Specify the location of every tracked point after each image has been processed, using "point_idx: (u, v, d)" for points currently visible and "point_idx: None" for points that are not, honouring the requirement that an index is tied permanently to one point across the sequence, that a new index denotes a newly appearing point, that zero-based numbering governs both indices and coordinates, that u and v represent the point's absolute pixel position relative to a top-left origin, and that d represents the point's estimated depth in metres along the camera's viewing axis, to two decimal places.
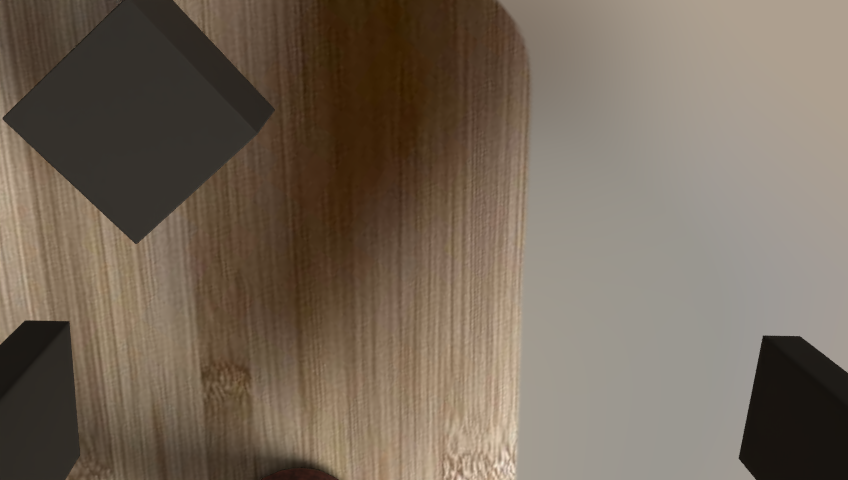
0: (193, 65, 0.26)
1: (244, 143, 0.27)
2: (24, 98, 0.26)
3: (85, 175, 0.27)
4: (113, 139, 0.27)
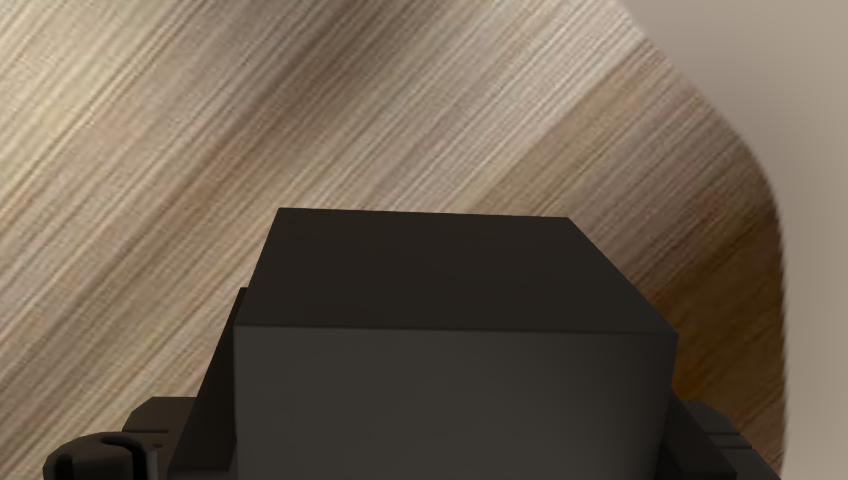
0: None
1: None
2: (316, 328, 0.10)
3: None
4: None
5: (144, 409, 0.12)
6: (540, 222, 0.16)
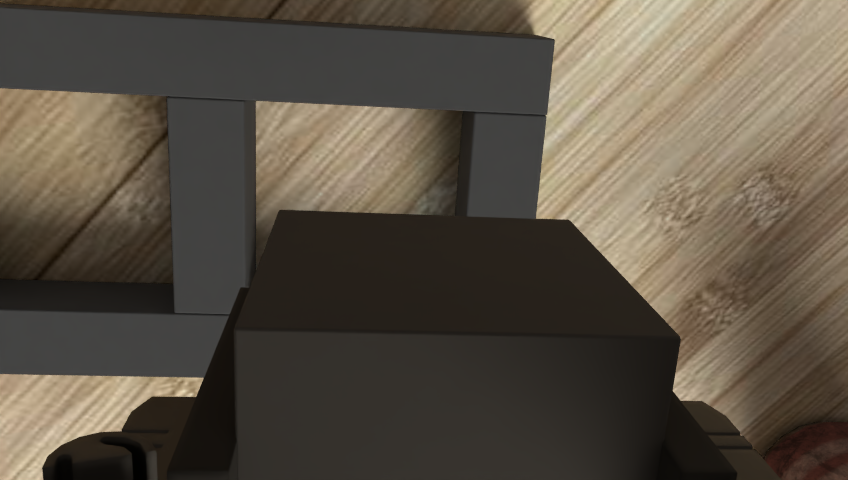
0: None
1: None
2: (316, 332, 0.10)
3: None
4: None
5: (144, 409, 0.13)
6: (541, 224, 0.16)
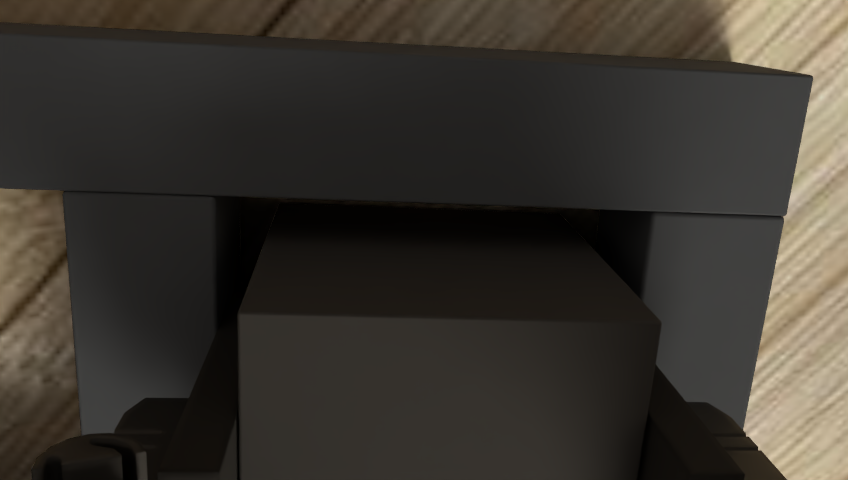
0: None
1: None
2: (316, 316, 0.11)
3: None
4: None
5: (136, 410, 0.12)
6: (532, 217, 0.16)
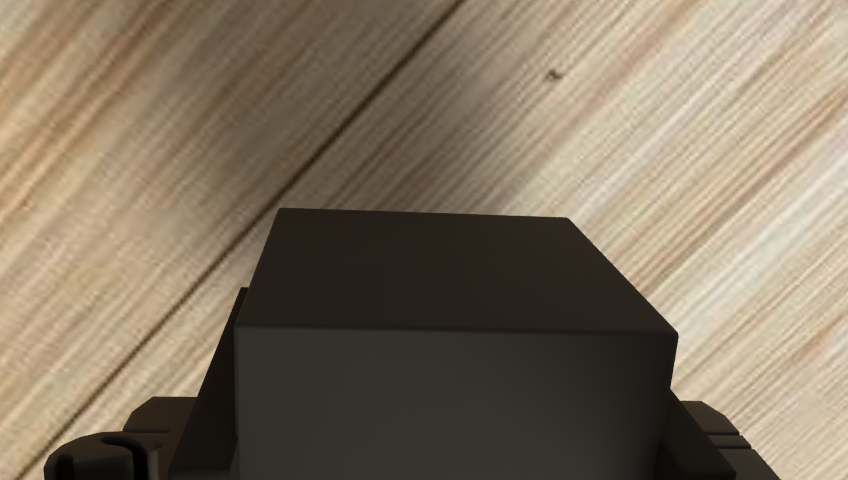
0: None
1: None
2: None
3: None
4: None
5: (144, 409, 0.13)
6: None
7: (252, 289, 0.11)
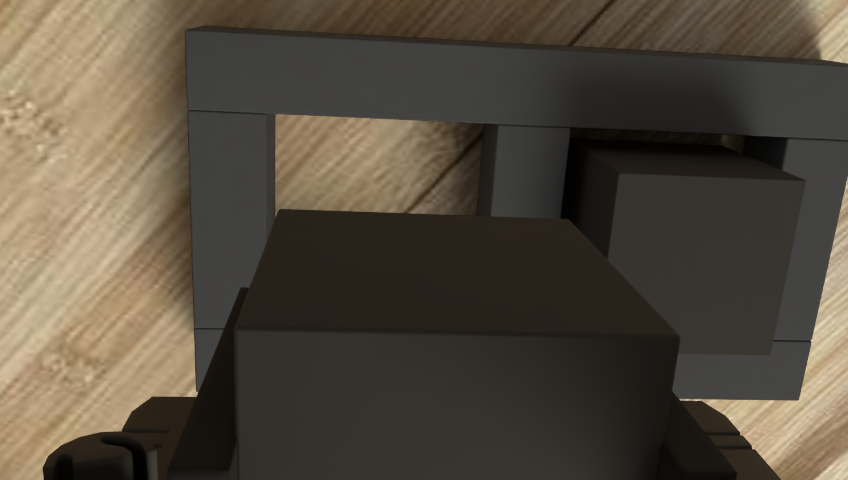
0: (787, 268, 0.25)
1: (754, 354, 0.26)
2: (652, 175, 0.24)
3: (623, 271, 0.25)
4: (675, 265, 0.25)
5: (144, 410, 0.12)
6: (710, 146, 0.30)
7: (253, 292, 0.11)
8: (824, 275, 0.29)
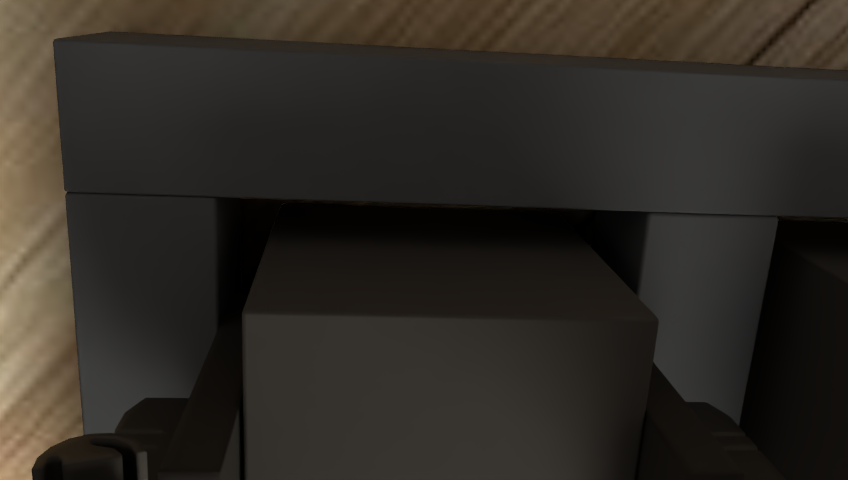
0: None
1: None
2: None
3: None
4: None
5: (137, 410, 0.12)
6: None
7: (258, 279, 0.12)
8: None
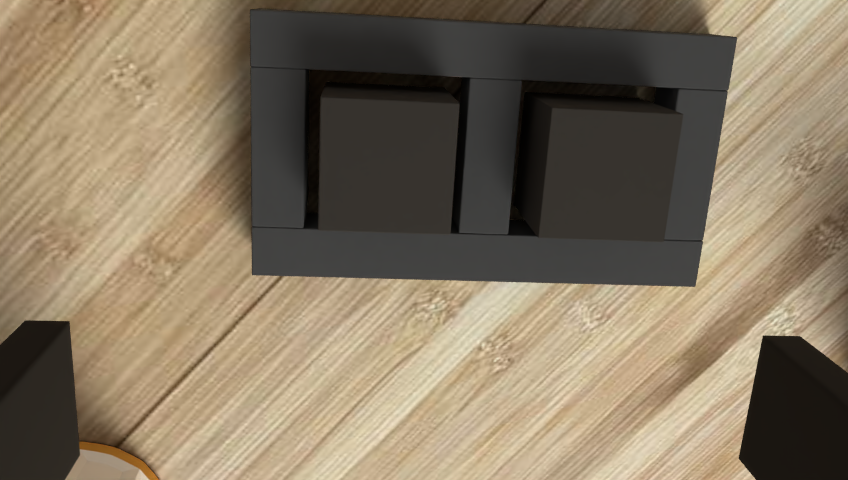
0: (673, 178, 0.36)
1: (652, 240, 0.37)
2: (575, 109, 0.35)
3: (557, 178, 0.35)
4: (593, 174, 0.36)
5: None
6: (628, 98, 0.40)
7: (323, 92, 0.35)
8: (710, 191, 0.39)
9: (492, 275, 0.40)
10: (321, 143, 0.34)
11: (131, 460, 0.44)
